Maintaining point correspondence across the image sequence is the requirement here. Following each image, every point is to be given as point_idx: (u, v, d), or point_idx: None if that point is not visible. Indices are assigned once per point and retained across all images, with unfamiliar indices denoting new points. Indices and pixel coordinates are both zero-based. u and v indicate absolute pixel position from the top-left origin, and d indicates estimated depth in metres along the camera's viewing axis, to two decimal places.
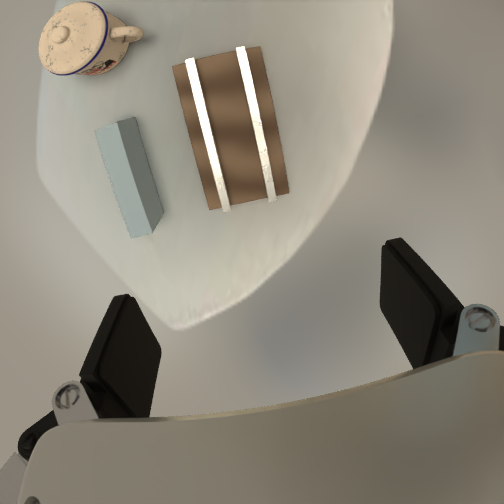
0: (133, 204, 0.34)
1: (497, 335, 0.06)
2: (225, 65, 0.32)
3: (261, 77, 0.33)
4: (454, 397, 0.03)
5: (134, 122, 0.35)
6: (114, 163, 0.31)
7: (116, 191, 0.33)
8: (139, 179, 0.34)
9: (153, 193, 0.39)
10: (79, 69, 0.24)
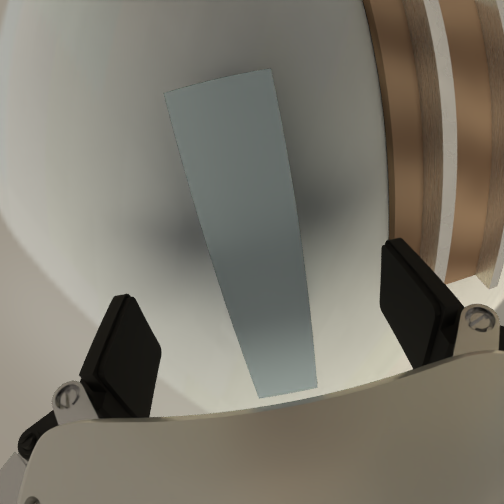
0: (285, 340, 0.12)
1: (497, 335, 0.06)
2: (463, 18, 0.10)
3: None
4: (454, 397, 0.03)
5: None
6: (242, 227, 0.10)
7: (238, 309, 0.11)
8: None
9: None
10: None
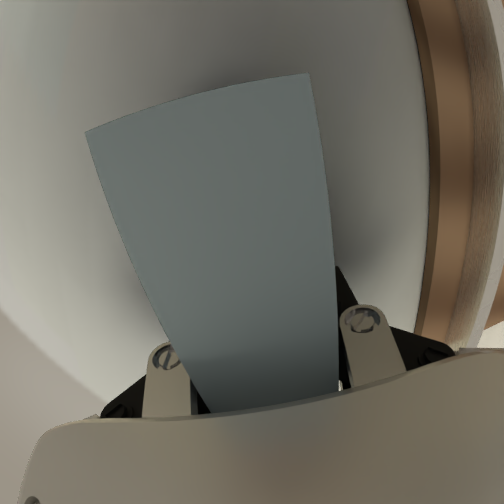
0: None
1: (386, 327, 0.07)
2: None
3: None
4: (454, 397, 0.03)
5: None
6: (247, 360, 0.06)
7: None
8: None
9: None
10: None
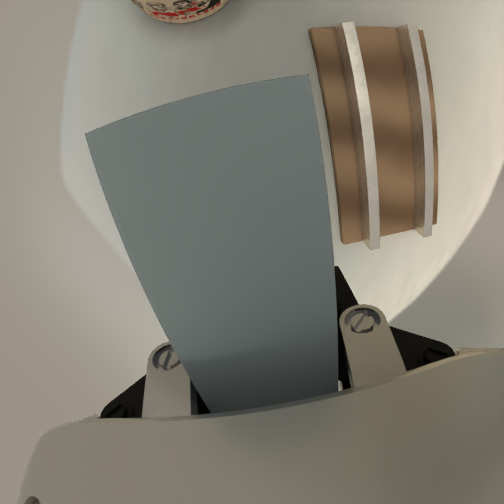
0: None
1: (387, 327, 0.07)
2: (384, 43, 0.20)
3: (424, 71, 0.21)
4: (454, 397, 0.03)
5: None
6: (247, 360, 0.06)
7: None
8: None
9: None
10: None
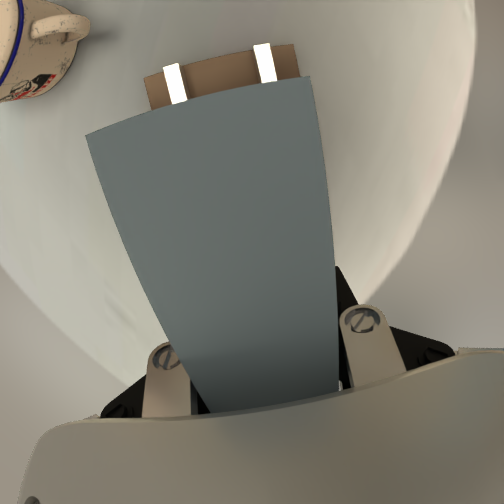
0: None
1: (387, 327, 0.07)
2: (234, 74, 0.19)
3: None
4: (454, 397, 0.03)
5: None
6: (247, 362, 0.06)
7: None
8: None
9: None
10: None
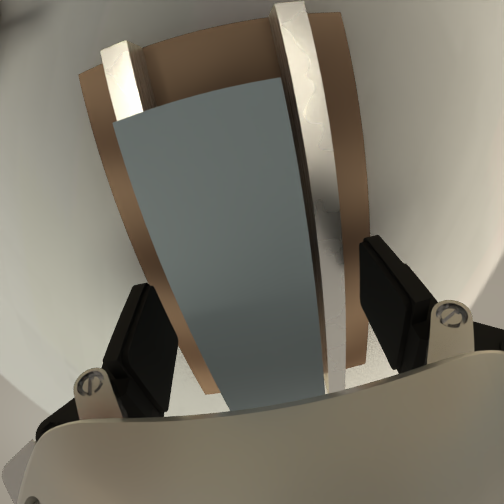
0: None
1: (471, 329, 0.06)
2: (235, 60, 0.10)
3: (343, 105, 0.11)
4: (454, 397, 0.03)
5: None
6: (239, 313, 0.07)
7: (236, 397, 0.08)
8: None
9: None
10: None
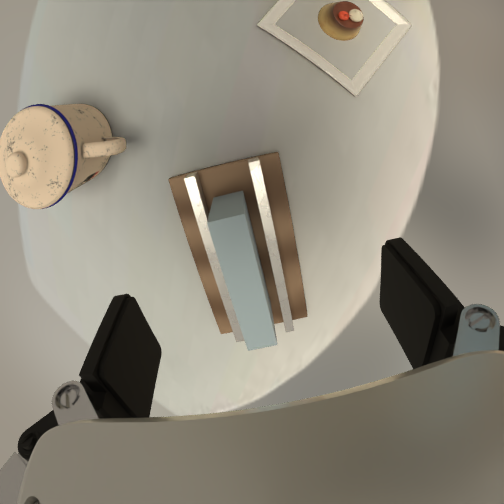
0: (257, 316, 0.28)
1: (497, 335, 0.06)
2: (235, 179, 0.29)
3: (279, 194, 0.30)
4: (454, 397, 0.03)
5: (244, 199, 0.29)
6: (236, 269, 0.26)
7: (236, 301, 0.27)
8: (263, 283, 0.28)
9: (266, 288, 0.33)
10: (51, 204, 0.21)
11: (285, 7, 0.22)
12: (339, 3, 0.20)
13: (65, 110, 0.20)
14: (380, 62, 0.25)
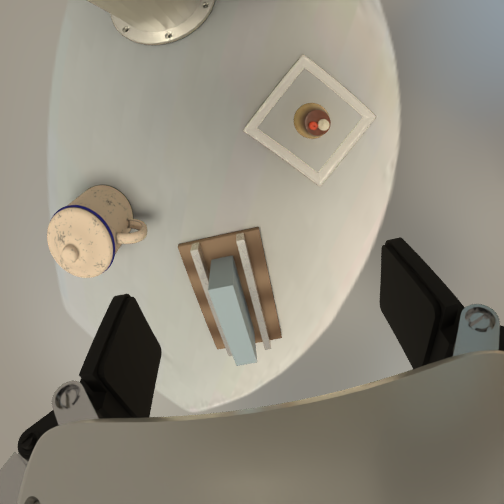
0: (242, 345, 0.40)
1: (497, 335, 0.06)
2: (227, 247, 0.41)
3: (259, 257, 0.42)
4: (454, 397, 0.03)
5: (233, 262, 0.41)
6: (228, 317, 0.38)
7: (227, 336, 0.39)
8: (246, 322, 0.40)
9: (250, 320, 0.45)
10: (96, 275, 0.33)
11: (266, 111, 0.33)
12: (311, 112, 0.31)
13: (99, 206, 0.31)
14: (343, 155, 0.36)
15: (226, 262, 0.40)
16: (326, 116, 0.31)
